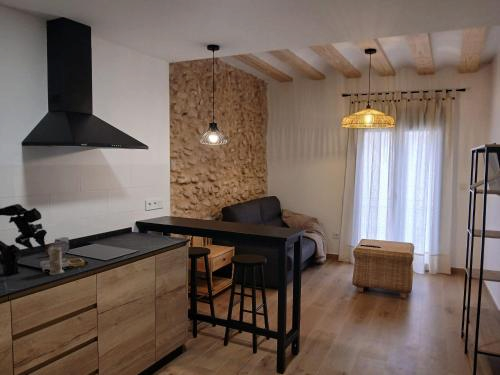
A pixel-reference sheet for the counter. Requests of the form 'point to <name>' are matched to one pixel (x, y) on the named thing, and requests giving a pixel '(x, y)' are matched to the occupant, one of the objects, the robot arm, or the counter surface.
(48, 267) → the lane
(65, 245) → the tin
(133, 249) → the counter surface
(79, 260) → the trap tray
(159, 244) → the counter surface
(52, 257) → the beech block
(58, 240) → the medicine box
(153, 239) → the counter surface
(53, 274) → the pad
